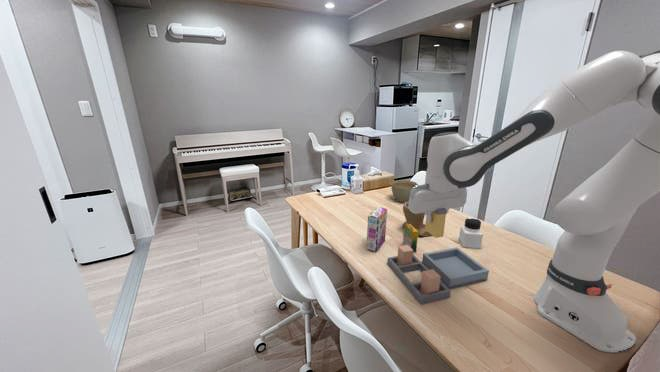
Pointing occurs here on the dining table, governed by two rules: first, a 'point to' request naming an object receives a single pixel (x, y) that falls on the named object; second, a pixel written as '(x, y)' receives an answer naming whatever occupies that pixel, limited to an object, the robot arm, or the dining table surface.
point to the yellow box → (436, 223)
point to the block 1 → (404, 255)
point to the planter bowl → (402, 189)
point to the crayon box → (410, 236)
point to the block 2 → (430, 282)
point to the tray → (455, 267)
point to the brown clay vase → (415, 220)
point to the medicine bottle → (471, 233)
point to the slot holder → (416, 286)
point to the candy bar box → (376, 229)
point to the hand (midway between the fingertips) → (435, 221)
